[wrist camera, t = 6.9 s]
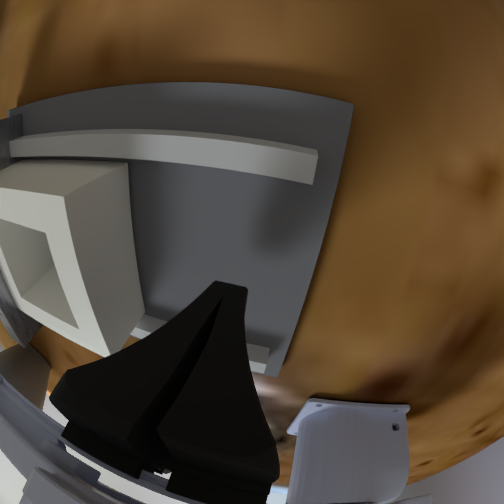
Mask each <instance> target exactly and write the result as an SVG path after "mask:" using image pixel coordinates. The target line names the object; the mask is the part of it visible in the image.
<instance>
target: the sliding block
mask: <svg viewBox="0 0 504 504" xmlns="http://www.w3.org/2000/svg"><path fill="white" fill-rule="evenodd" d="M0 270H1V273H2V275H3V277H4V280H5V282H6V284H7V287H8V289H9V291H10V293H11V295H12V297H13V299H14V301H15V303H16V305H17V307H18V309H20V310H21V311H23V312H24V313H26V314H27V315H29V316H30V317H32V318H34V319H35V320H37V321H38V322H40V323H42V324H43V325H45V326H47V327H48V328H50V329H52V330H53V331H55V332H57V333H59V334H60V335H62V336H64V337H66V338H68V339H70V340H71V341H73V342H75V343H77V344H79V345H81V346H83V347H85V348H87V349H89V350H91V351H93V352H95V353H97V354H99V355H101V356H103V357H107V356H109V355H111V354H114V353H116V352H118V351H120V350H121V348H122V347H123V345H124V343H125V342H126V340H127V339H128V337H129V336H130V334H131V333H132V331H133V330H134V328H135V327H136V325H137V324H138V322H139V321H140V319H141V318H142V316H143V315H144V313H145V308H144V303H143V297H142V292H141V286H140V280H139V274H138V268H137V261H136V254H135V246H134V238H133V229H132V219H131V208H130V194H129V177H128V163H124V162H109V161H90V160H57V159H30V160H21V161H19V162H17V163H15V164H13V165H11V166H9V167H6V168H4V169H2V170H0Z"/></svg>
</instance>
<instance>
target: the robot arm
mask: <svg viewBox="0 0 504 504" xmlns="http://www.w3.org/2000/svg"><path fill="white" fill-rule="evenodd" d="M247 296H248V289H247V288H246V287H244V286H239V285H235V284H230V283H226V282H222V281H217V280H215V281H214V282H212V283H211V284H210V285H209V286H208V287H207V288H206V289H205V290H204V291H203V292H202V293H201V294H200V295H199V296H198V297H197V298H196V299H195V300H194V301H193V302H191V303H190V304H189V305H188V306H187V307H186V308H184V309H183V310H182V311H181V312H180V313H178V314H177V315H176V316H175V317H173V318H172V319H171V320H169V321H168V322H167V323H165V324H164V325H163V326H161V327H160V328H158V329H157V330H155V331H154V332H152V333H151V334H149V335H148V336H146V337H144V338H143V339H141V340H139V341H137V342H136V343H134V344H132V345H130V346H128V347H126V348H124V349H122V350H120V351H118V352H116V353H114V354H111V355H109V356H107V357H104V358H102V359H100V360H97V361H94V362H92V363H89V364H85V365H82V366H79V367H76V368H73V369H69V370H67V371H66V372H65V374H64V375H63V376H62V377H61V379H60V381H59V382H58V384H57V385H56V387H55V388H54V390H53V392H52V393H51V395H50V396H49V399H50V401H51V403H52V404H53V405H54V406H55V407H56V408H57V409H58V410H59V411H60V412H61V413H62V414H63V415H64V416H65V417H66V418H67V419H68V420H69V422H68V423H67V425H66V427H64V426H62V425H61V424H59V423H58V422H56V421H55V420H54V419H52V418H51V417H49V416H48V415H47V414H45V413H44V412H43V411H41V410H40V409H39V408H38V407H36V406H35V405H34V404H33V403H31V402H30V401H29V400H28V399H26V398H25V397H24V396H23V395H22V394H21V393H19V392H18V391H17V390H16V389H15V388H14V387H13V386H12V385H10V384H9V383H8V382H7V381H6V380H5V379H4V378H3V376H2V375H1V374H0V449H1V451H2V452H3V453H4V454H5V455H6V457H7V458H8V459H9V460H10V461H11V463H12V464H13V465H14V466H15V467H16V468H17V469H18V471H19V472H20V473H21V474H22V475H23V476H24V477H25V478H26V479H27V482H26V484H25V486H24V488H23V493H24V494H23V496H22V499H21V501H20V503H19V504H145V503H143V502H140V501H138V500H136V499H133V498H131V497H129V496H127V495H125V494H122V493H120V492H118V491H116V490H114V489H112V488H110V487H108V486H106V485H104V484H102V483H101V482H99V481H98V479H99V477H100V475H101V474H100V472H99V471H97V470H95V469H94V468H92V467H90V466H88V465H87V464H85V463H84V462H82V461H80V460H79V459H77V458H76V457H74V456H72V455H71V454H69V453H68V452H67V451H66V447H65V445H67V446H68V447H70V448H72V449H73V450H75V451H76V452H78V453H79V454H81V455H82V456H84V457H86V458H87V459H89V460H91V461H93V462H94V463H96V464H98V465H99V466H101V467H103V468H105V469H107V470H109V471H111V472H113V473H114V474H116V475H118V476H120V477H123V478H125V479H127V480H129V481H131V482H133V483H136V484H138V485H140V486H143V487H145V488H147V489H150V490H152V491H154V492H157V493H160V494H162V495H165V496H168V497H171V498H173V499H177V500H179V501H182V502H186V503H189V504H266V500H267V496H268V495H269V493H270V489H271V485H272V483H273V482H275V481H276V480H278V478H279V475H280V465H279V458H278V453H277V448H276V442H275V440H274V437H273V435H272V433H271V431H270V428H269V426H268V423H267V421H266V418H265V416H264V413H263V410H262V408H261V405H260V401H259V398H258V395H257V392H256V388H255V385H254V381H253V377H252V373H251V368H250V363H249V358H248V352H247V345H246V336H245V319H244V318H245V311H246V303H247ZM409 410H410V406H409V405H393V404H370V403H356V402H345V401H335V400H326V399H318V398H310V399H308V400H307V401H306V403H305V404H304V406H303V407H302V409H301V410H300V412H299V413H298V415H297V416H296V418H295V419H294V421H293V422H292V423H291V425H290V426H289V428H288V429H287V433H288V434H292V435H297V440H296V447H295V454H294V460H293V466H292V472H291V478H290V483H289V489H288V494H287V499H286V504H381V503H387V502H390V501H393V500H394V499H396V498H397V497H398V496H399V495H400V494H401V492H402V491H403V489H404V487H405V485H406V482H407V479H408V475H409V448H408V433H407V422H406V413H407V412H408V411H409ZM154 472H156V473H159V474H163V473H165V474H167V473H170V472H172V473H171V476H170V479H169V480H168V479H165V478H163V477H160V476H158V475H155V474H154ZM391 504H433V495H432V494H428V495H424V496H419V497H414V498H409V499H404V500H400V501H396V502H393V503H391Z"/></svg>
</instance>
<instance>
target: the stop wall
mask: <svg viewBox="0 0 504 504" xmlns="http://www.w3.org/2000/svg"><path fill="white" fill-rule="evenodd" d="M22 136H23V113H22V114H18V115H15V116H11V117H8V118H5V119H2V120H0V170H2V169H4V168H6V167H9V166H11V165H13V164H15V163H17V162H19V161H21V160H26V159H25V157H11V155H10V145H9V141H12V140H14V139H17V138H20V137H22ZM0 320H1V322H2V323H3V325H4V327H5V328H6V330H7V332H8V333H9V335H10V336H11V338H12V339H14V340H15V341H16V342H17V343H19V344H20V345H21V346H23V347H24V348H25V347H26V346H27V344H28V343H29V342H30V341H31V339H32V338H33V337H34V336H35V334H36V333H37V332H38V331H39V330H40V328H41V327H42V326H43V324H42V323H40V322H38V321H37V320H35V319H34V318H32V317H30V316H29V315H27V314H26V313H24V312H23V311H21V310H20V309H18V307H17V305H16V303H15V301H14V299H13V297H12V295H11V293H10V291H9V289H8V287H7V284H6V282H5V280H4V277H3V275H2V273H1V270H0Z"/></svg>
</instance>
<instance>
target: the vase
mask: <svg viewBox="0 0 504 504" xmlns="http://www.w3.org/2000/svg"><path fill="white" fill-rule="evenodd" d="M50 370H51V368H50V366H49V364H48V362H47V361H46V360H45V359H44V358H43V357H42V355H41V354H40V353H39V352H38V351H37V350H35V349H34V348H33V347H32V346H31V345H30V344H27V346H26V347H25V348H24V347H23V346H21V345H20V344H17V345H15V346H12V347H10V348H8V349H6V350H4V351H2V352H0V374H1V375H2V376H3V378H4V379H5V380H6V381H7V382H8V383H9V384H10V385H12V386H13V387H14V388H15V389H16V390H17V391H18V392H19V393H21V394H22V395H23V396H24V397H25V398H26V399H28V400H29V401H30V402H31V403H33V404H34V405H35V406H36V407H38V408H39V409H40V410H41V411H42V409H43V405H44V400H45V396H46V391H47V385H48V379H49V374H50Z"/></svg>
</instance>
